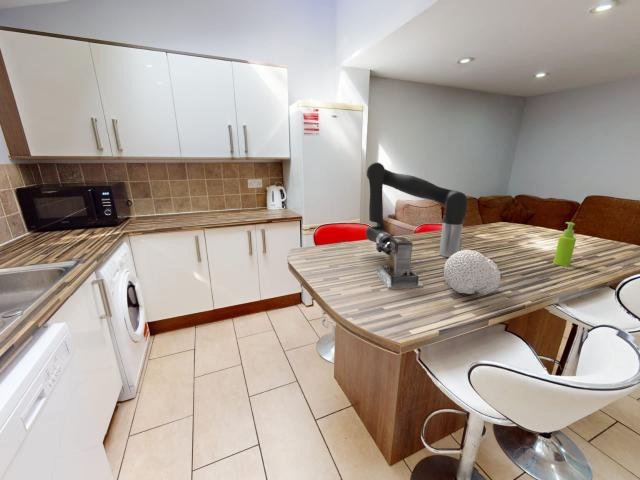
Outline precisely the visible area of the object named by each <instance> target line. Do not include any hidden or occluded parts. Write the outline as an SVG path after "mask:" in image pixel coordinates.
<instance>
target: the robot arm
mask: <svg viewBox="0 0 640 480" xmlns="http://www.w3.org/2000/svg"><path fill="white" fill-rule="evenodd" d="M366 169H367V170H366V177H367V179H368V183H369V206H368V207H369V208H368V210H369V211H368V213H369V215H368V217H369V218H368V219H369V222H371V223H375V224H377V225H378V226H368V228H366V231H365V236H366V238H367V240H369V242H373V243H375V250H377V252H378V253H383V254H385V255H387V256H389V255H390V250H389V243H390V237H394V236H393V235H392V234H390V233H389V232H387V229H386V225H385V221H384V201H383V200H384V199H383V188H384V187H383V186H388V187H390V188H393V189H395V190H398V191H400V192H402V193H404V194H408V195H410V196H413V197H416V198H420V199H425V200H431V201H434V202H437V203H439V204H441V205H443V206H445V214H444V216H443V218H442V227H441V235H440V242H439V244H440V245H439V251H438V252H439V255H440V256H442V257H446V258H450V256H452V255H453V254H454V253H457V252H459V251H462V245H463V238H462V231H463V226H464V225H463V223H464V220H465V217H466V214H467V208H468V198H467V195H466V194H465V193H463V192H462V191H458V190H453V189H448V188H444V187H440V186H438V185H436V184H434V183H432V182H431V181H428V180H425V179H423V178H421V177H417V176H414V175H411V174H403V173H395V172H393V171H391V170H388V169H386V168H385V165H383V164H382V163H380V162H377V161H376V162H373V163H371V164H370V165H369V166H368V167H367V168H366Z"/></svg>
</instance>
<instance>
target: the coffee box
mask: <svg viewBox="0 0 640 480" xmlns="http://www.w3.org/2000/svg"><path fill="white" fill-rule="evenodd" d="M389 250H390V255H388V259H387V261H388V262H387V270H388V271H389V273H390V274H391V275H392V276H393V277H396V276H409V275H410V269H411V264H412V253H413V242H411V241H410V240H408V238H406V237H404V236H402V237H400V236H393V237H390V243H389Z"/></svg>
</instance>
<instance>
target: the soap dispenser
mask: <svg viewBox="0 0 640 480" xmlns="http://www.w3.org/2000/svg"><path fill="white" fill-rule="evenodd" d="M565 224H567V228H566V229H564V230H563V235H560V236H558V241H557V244H556V250H555V254H554V257H553V264H554V265H555V266H560V267H570V264H571V261H572V257H573V253H574V248H575V246H576V245H575V244H576V240H577V238H575V237H574V233H575V229H573V228H574V226H576V223H574V222H573V221H569V222H568V221H566V222H565Z"/></svg>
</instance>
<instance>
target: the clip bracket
mask: <svg viewBox="0 0 640 480" xmlns="http://www.w3.org/2000/svg"><path fill="white" fill-rule="evenodd" d="M375 274H376V275H377V276H378V278H379V279H380V281H382V283H383V284H384V286H385V287H386V288H387V290H395V289H396V290H398V289H414V288H415V289H418V288H419V289H421V288H424V284H423V283H422V282H421V281H420V279H419V278H420V277H419V275H418V274H417V273H416V272H415V271H413V270H412V268H410V275H409V276H396V277H393V276H392V275H391V274H390V273H389V271H388V268H386V267H385V266H384V265H381V267H380V269H375Z"/></svg>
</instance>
